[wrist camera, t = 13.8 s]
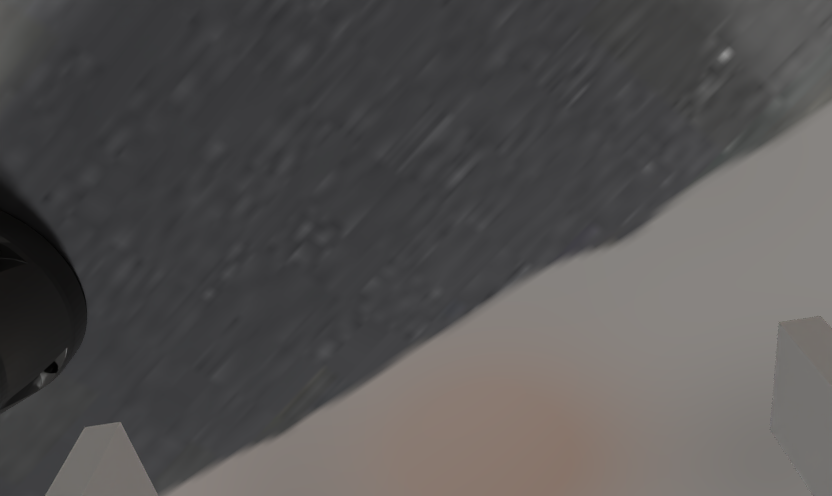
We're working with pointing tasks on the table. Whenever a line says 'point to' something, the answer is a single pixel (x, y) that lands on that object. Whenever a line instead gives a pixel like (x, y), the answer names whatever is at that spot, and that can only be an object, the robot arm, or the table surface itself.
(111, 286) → the table surface
